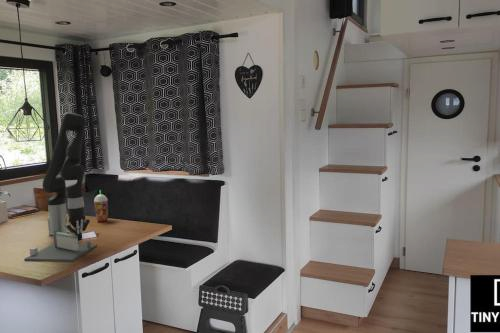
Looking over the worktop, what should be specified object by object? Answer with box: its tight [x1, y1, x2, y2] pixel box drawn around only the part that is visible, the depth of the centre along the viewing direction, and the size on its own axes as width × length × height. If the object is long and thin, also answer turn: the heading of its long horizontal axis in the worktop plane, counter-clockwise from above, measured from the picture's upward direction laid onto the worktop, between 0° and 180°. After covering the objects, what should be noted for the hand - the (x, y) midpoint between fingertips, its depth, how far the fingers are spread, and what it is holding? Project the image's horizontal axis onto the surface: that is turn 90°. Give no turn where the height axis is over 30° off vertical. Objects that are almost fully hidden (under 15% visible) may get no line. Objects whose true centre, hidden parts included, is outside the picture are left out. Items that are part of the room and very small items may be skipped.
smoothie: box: [93, 189, 109, 223], centre depth 273 cm, size 8×8×20 cm
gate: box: [56, 232, 79, 251], centre depth 213 cm, size 15×2×7 cm, turn 58°
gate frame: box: [23, 230, 98, 263], centre depth 210 cm, size 25×23×10 cm
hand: (79, 240), depth 214 cm, fingers closed
